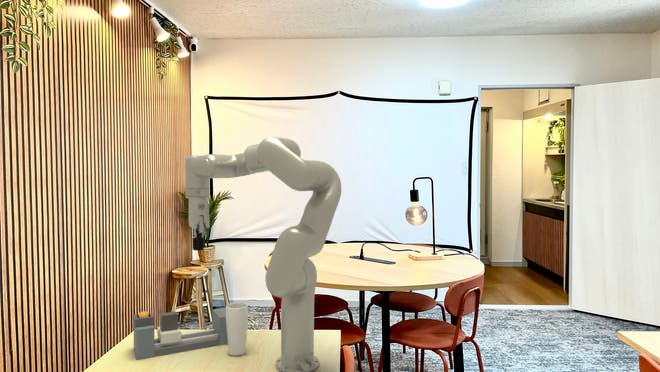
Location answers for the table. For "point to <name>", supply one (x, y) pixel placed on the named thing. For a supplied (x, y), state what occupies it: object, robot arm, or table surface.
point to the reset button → (143, 314)
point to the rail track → (190, 341)
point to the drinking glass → (236, 327)
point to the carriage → (168, 328)
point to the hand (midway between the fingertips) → (198, 249)
